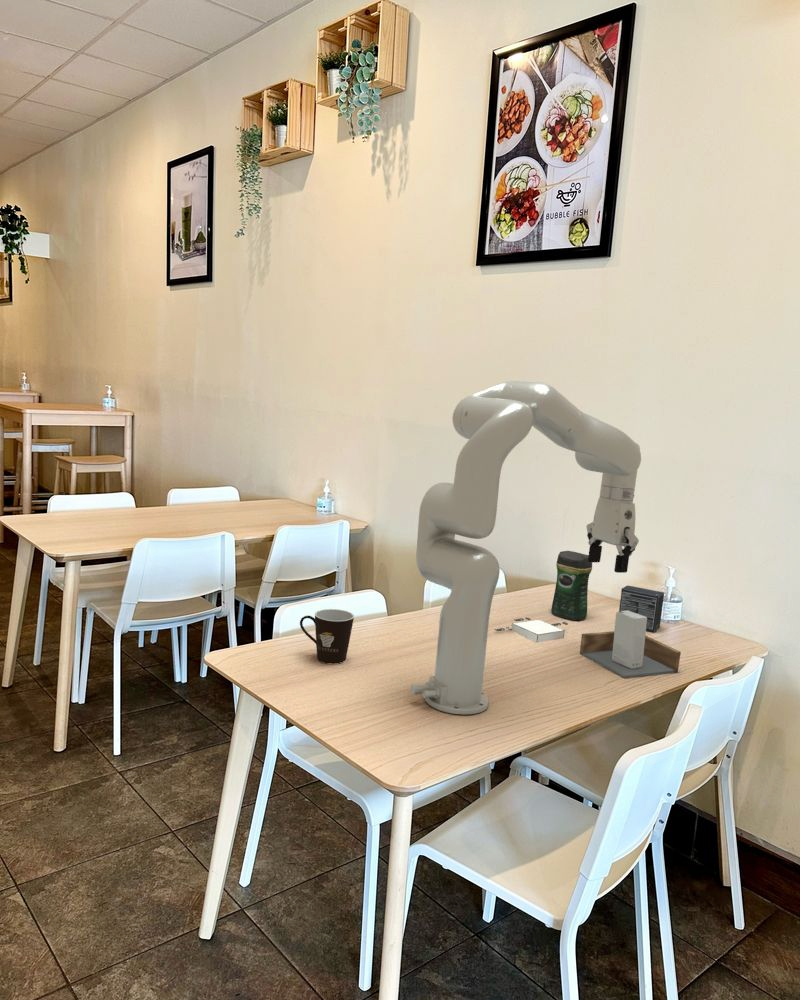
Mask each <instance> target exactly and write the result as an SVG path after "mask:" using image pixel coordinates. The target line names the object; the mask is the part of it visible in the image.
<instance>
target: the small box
mask: <svg viewBox="0 0 800 1000" xmlns="http://www.w3.org/2000/svg"><path fill="white" fill-rule="evenodd" d="M664 598H665V592H663V591H659V590H653V589H648V588H644V587H643V588H642V587H638V586H633V585H626V586H624V587H622V588H621V593H620V601H619V609H618V612H620V611H626V610H628V611H631V612H634V613H636V614H639V615H642V616H644V617H647V624H646V632H649V633H652V634H655V633H656V632H657V631H659V630H660V628H661V623H662V621H661V620H662V613H663V606H664Z"/></svg>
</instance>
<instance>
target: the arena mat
mask: <svg viewBox="0 0 800 1000" xmlns="http://www.w3.org/2000/svg"><path fill="white" fill-rule="evenodd" d="M612 653H613V650H609V651H598V652H587V653H582V652H581V653H580V652H579V654H580V655H581V656H583V657H584V658H586V659H588V660H591V661H592V660H593V661H592V662H594V663H596V664H598V665H600V666H601V667H603V668H605V669H606V668H607V669H606V670H608V671H611V672H612V673H613V672H614V674H615V673H616V674H615V675H618V676H619V677H620V678H623V679H630V678H631V677H633V678H639V677H640V676H642V677H648V676H649V675H650V676H658V674H659V675H667V673H668V674H676V673H678V672H679V669H678V670H673V669H671V668H669V667H667V666H665V665H663V664H661V663H659V662H657V661H655V660H653V659H651V658H649V657H647V656H645V655H643V664H642V667H640V668H634V669H630V668H628V667H626V666H623V665H621V664H619V663H617V662H615V661H613V660H612ZM677 671H678V672H677ZM650 676H649V677H650ZM631 679H632V678H631Z"/></svg>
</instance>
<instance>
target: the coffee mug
mask: <svg viewBox="0 0 800 1000" xmlns="http://www.w3.org/2000/svg"><path fill="white" fill-rule="evenodd" d="M305 619H309V620H311V621H313V624H314V625H315V626H314V627H315V638H314V637H313V636H312V635H311V634H310V633H308V631H307V630H306V628H305V627H304V625H303V624H304V623H303V622H304V620H305ZM354 619H355V615H354V613H352V612H350V611H348V610H343V609H338V608H337V609H334V608H328V609H327V608H326V609H320V610H317V611H316V612H315V613H314V617H313V616H312V615H304V616H302V617H301V618H300V620H299V625H300V628H301V631H302V633H304V634H305V636H307V637H308V639H310V640H311V641H312V642H313V643H315V646H316V660H318V661H319V662H320V661H322V662H321V663H323V662H324V663H323V664H327V663H339V664H341V663H340V662H343V661H345V660H347V656H348V651H349V644H350V640H351V639H350V638H351V634H352V631H353V630H352V629H353V624H354ZM345 662H346V661H345ZM343 663H344V662H343Z"/></svg>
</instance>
